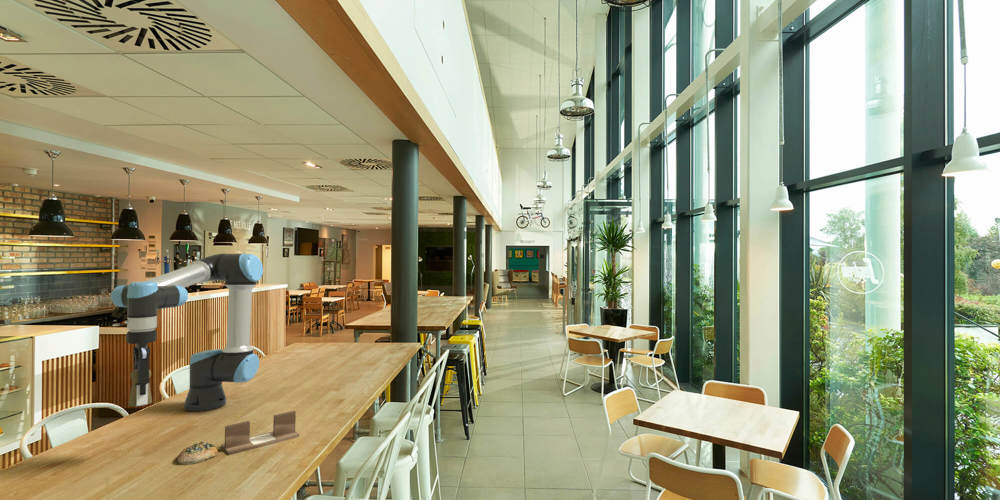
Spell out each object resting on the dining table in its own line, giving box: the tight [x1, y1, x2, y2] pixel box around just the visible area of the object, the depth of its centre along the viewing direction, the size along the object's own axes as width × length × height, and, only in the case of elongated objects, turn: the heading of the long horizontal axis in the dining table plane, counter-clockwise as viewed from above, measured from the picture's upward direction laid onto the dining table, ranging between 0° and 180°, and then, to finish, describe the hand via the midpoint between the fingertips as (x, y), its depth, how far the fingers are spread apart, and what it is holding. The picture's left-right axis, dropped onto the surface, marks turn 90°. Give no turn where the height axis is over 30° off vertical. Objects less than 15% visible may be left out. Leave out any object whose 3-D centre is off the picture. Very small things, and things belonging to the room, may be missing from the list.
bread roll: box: [176, 441, 219, 465], centre depth 143 cm, size 11×11×5 cm
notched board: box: [221, 410, 300, 456], centre depth 155 cm, size 9×22×8 cm, turn 135°
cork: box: [127, 368, 153, 408], centre depth 145 cm, size 6×6×11 cm
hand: (140, 402), depth 145 cm, fingers closed on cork, 6 cm apart
